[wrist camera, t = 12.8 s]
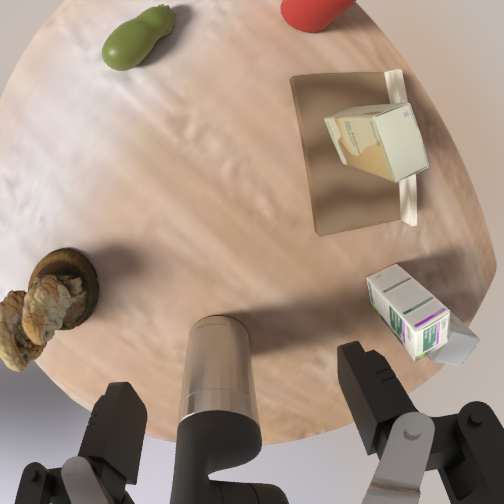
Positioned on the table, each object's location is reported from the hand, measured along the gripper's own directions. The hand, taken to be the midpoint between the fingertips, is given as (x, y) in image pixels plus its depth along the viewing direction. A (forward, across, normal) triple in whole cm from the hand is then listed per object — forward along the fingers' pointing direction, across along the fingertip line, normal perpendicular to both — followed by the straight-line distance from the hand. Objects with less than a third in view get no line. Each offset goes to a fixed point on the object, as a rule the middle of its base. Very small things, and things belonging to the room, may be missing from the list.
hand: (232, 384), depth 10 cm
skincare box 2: (+28, -32, +28) cm, 51 cm away
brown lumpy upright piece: (+28, +29, +7) cm, 41 cm away
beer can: (+28, -15, -23) cm, 40 cm away
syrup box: (+28, -21, +17) cm, 39 cm away
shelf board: (+28, -17, -4) cm, 33 cm away
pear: (+28, +6, -24) cm, 37 cm away
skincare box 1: (+26, -16, -6) cm, 31 cm away
